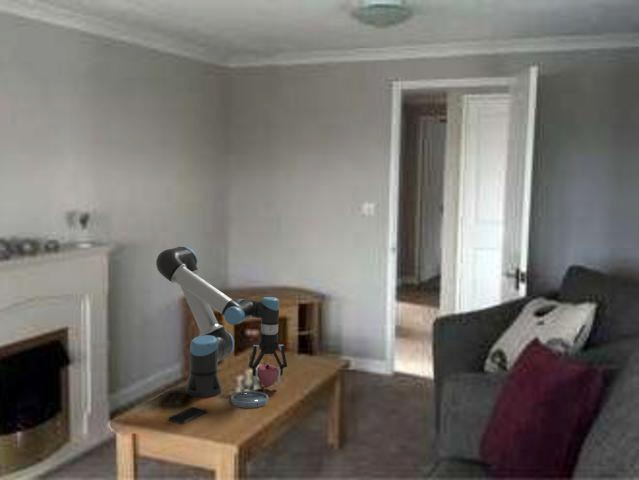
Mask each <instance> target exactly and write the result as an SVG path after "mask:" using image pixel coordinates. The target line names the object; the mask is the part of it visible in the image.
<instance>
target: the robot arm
mask: <svg viewBox="0 0 639 480" xmlns="http://www.w3.org/2000/svg"><path fill="white" fill-rule="evenodd" d="M197 263H198V257H197V254H196V252H195V251H194V250H193V249H192V248H190V247H189V246H188V247H187V246H177V247H174V248H168V249H165V250H163V251H162V252H160V253H159V254H158V255H157V257H156V262H155V265H156V269H157V271H158V273H159V274H160V275H161V276H162V277H164V278H165V279H167V281H169V282H171V283H172V284H178V285H179V287H180V288H181V290H182V292H183V295H184V297H185V300H186V302H187V304H188V306H189V309H190V311H191V313H192V315H193V318H194V320H195V322H196V325H197V327H198V329H199V331H200V333H199V336H196V337H194V338H193V339H191V341H190V346H189V352H190V353H189V377H188V379H187V382H186V384H185V385H186V386H185V394H186V393H187V394H186V395H188V394H189V395H188V396H191V397H194V398H209V397H214V396H218V395H219V394H220V393H222V384H221V382H220V377H219V375H218V368H219V367H218V363H220V362H221V361H222V360H224V359H226V358H228V357H229V355H232V353H233V351H234V349H235V339H234V337H233V335H232V334H231V333H230V332H227V331H226V330H225V327H224V325H222V324H219V322H218V320H217V318H216V316H215V313H214V311H213V309H214V310H215V311H217V312H218V313H220V314H221V315H223V316H224V320H225V321H226V323H228V325H230V326H231V325H232V326H235V325H239V324H241V323H242V322H244V321H246V320H248V319H250V318H251V319H252V318H253V319H261V320H260V321H261V322H260V323H261V324H260V332H261V333H260V340H259V341H260V342H259V344H253V345H252V352H251V356H250V359H249V363H248V367H249V368H250V369H252V376H253V377H254V384H255V385H258V376H257V375H258V369H257V368H258V367H259V364H260V363H261V362H262V359H263V358H264V356H265V355H273V356H274V358H275V361H276V362H277V364H278V367H277V369H278V376H277V378H276V382H277V384H280V383H281V376H283V372H284V371H283V370H284V369H285V368H287V367H288V363H287V359H286V355H285V354H286V353H285V347H286V346H285V345H284V344H279V343H278V342H279V341H278V339H279V334H278V332H279V320H280V319H279V318H280V299H279V298H277V297H275V296H264V297H262V299H261V300H252V299H247V298H244V299H243V298H239V299H237V300H236V301H235V300H233V299H232V298H231V297H229V296H228V295H226V293H223V292H222V291H220V290H219V289H218V288H217V287H215V286H213V285H212V284H210V283H209V282H208V281H206V280H205V279H204V278H202V277H200V276H199V275H198V273H199V269H198V266H197V265H198V264H197ZM259 349H260V352H259V354H258V356H257V352H258V350H259ZM278 349H279V350H280V355H281V358H282V359H281V360H282V362H281V360H280V358H279V356H278V354H277V352H276V351H277V350H278ZM256 356H257V358H256Z"/></svg>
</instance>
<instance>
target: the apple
mask: <svg viewBox="0 0 639 480" xmlns="http://www.w3.org/2000/svg"><path fill="white" fill-rule="evenodd" d="M257 369H258V375H257V379H258V380H259V382H260V384H261V385H263V386H265V387H272V385H273V384H274V382H275V381H277V376H278V367H277V366H274V365H273V364H262V365H258V366H257Z"/></svg>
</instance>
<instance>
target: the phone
mask: <svg viewBox="0 0 639 480" xmlns="http://www.w3.org/2000/svg"><path fill="white" fill-rule="evenodd" d="M207 413H208V411H207V409H203V408H198V407H194V406H192V407H189V408H186V409H185V410H182V411H180V412H179V413H176V414H173V415H172V416H169V417H168V418H167V420H168V421H169V422H172V423H176V424H181V425H185V424H187V423H190V422H191V421H193V420H196V419H197V418H199V417H202V416H203V415H204V416H205V414H207Z"/></svg>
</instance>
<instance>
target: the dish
mask: <svg viewBox="0 0 639 480" xmlns="http://www.w3.org/2000/svg"><path fill="white" fill-rule="evenodd" d="M242 393H247V394H243V395H242ZM230 400H231V404H232V405H234V406H236V407H239V408H245V409H247V408H248V409H252V408H253V409H254V408H260V407H263V406H266V405H268V403H269V400H270V398H269V395H268V393H265V392H262V391H258V390H243V391H238V392H235V393H234V394H232V395H231V398H230Z"/></svg>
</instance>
